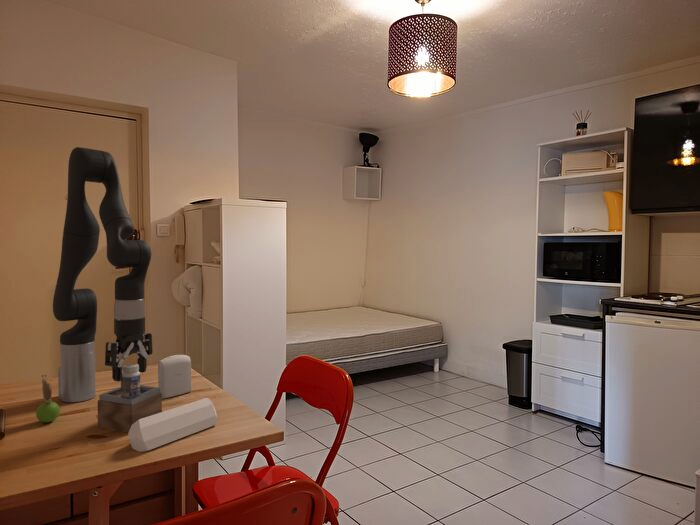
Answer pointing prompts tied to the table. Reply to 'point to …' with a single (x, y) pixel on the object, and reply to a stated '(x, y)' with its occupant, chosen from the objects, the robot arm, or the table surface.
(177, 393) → the photo printer
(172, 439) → the crystal
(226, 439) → the table surface
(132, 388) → the pill bottle
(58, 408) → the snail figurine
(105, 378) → the table surface
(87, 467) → the table surface
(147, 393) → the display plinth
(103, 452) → the table surface
